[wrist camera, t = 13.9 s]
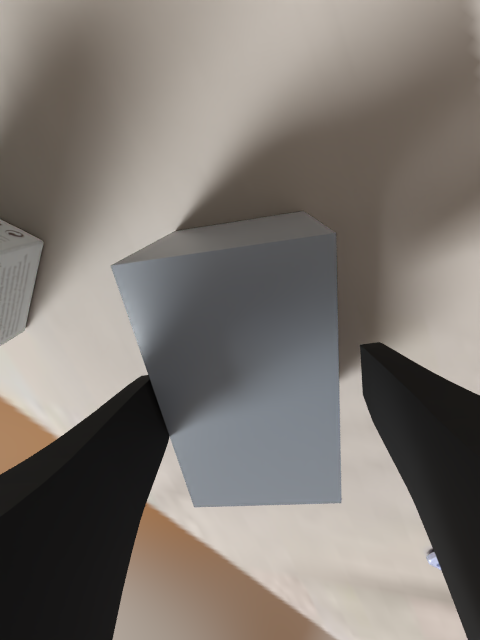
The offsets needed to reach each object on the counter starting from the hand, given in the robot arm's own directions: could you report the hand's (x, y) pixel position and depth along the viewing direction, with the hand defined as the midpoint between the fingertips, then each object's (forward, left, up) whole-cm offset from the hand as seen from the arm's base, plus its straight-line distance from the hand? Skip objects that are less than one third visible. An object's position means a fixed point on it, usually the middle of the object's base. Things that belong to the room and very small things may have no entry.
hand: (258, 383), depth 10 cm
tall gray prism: (0, 0, -6) cm, 6 cm away
